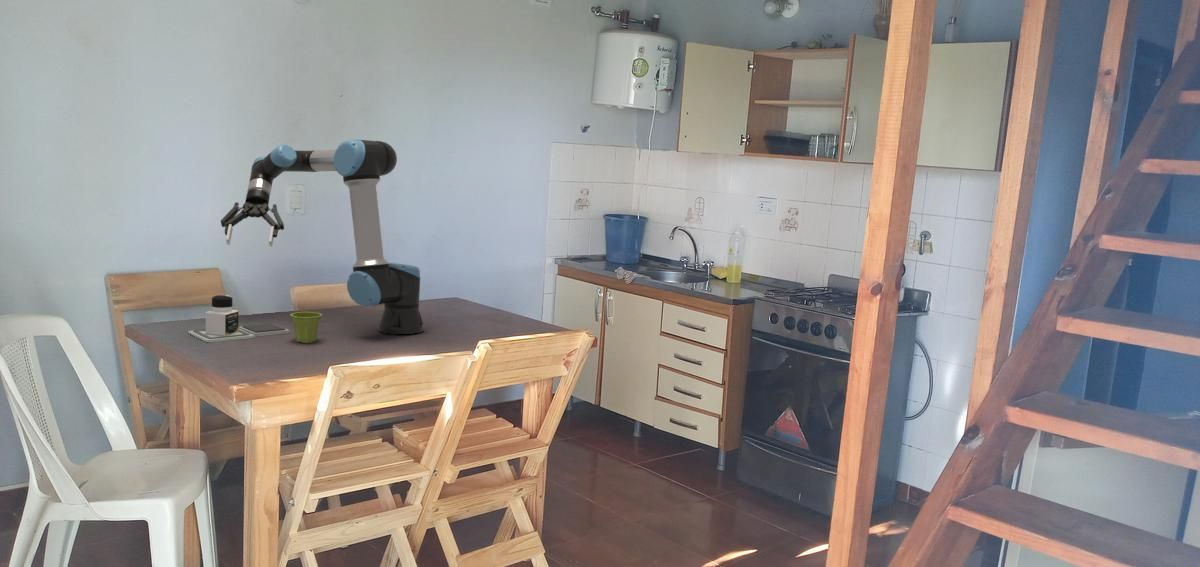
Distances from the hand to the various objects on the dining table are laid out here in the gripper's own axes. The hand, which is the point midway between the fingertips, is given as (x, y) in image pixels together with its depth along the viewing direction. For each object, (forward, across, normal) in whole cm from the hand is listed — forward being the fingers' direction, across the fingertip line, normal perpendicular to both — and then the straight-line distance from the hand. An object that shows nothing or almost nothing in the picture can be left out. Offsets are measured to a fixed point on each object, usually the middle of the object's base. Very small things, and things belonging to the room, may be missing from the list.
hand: (249, 242), depth 308 cm
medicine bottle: (+32, +4, -6) cm, 33 cm away
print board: (+33, +4, -6) cm, 34 cm away
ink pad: (+27, -7, -12) cm, 31 cm away
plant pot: (+37, -22, -3) cm, 43 cm away
